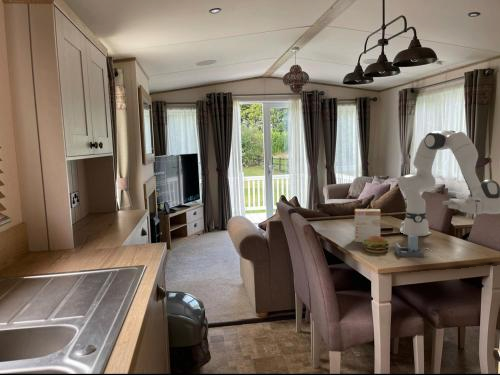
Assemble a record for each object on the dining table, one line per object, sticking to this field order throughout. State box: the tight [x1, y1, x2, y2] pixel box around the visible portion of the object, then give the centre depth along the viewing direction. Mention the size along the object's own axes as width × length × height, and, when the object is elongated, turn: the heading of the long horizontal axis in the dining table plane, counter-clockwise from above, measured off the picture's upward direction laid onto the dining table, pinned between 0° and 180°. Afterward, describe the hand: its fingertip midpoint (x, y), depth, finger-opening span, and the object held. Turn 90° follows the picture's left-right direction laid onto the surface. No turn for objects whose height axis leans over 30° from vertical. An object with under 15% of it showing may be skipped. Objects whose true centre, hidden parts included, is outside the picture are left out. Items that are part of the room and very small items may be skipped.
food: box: [361, 235, 390, 254], centre depth 217 cm, size 14×14×8 cm
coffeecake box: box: [354, 208, 382, 243], centre depth 237 cm, size 15×7×20 cm, turn 74°
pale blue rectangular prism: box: [407, 235, 419, 252], centre depth 208 cm, size 4×4×10 cm
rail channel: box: [394, 242, 425, 258], centre depth 208 cm, size 9×13×5 cm
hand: (445, 204), depth 206 cm, fingers open, 8 cm apart
